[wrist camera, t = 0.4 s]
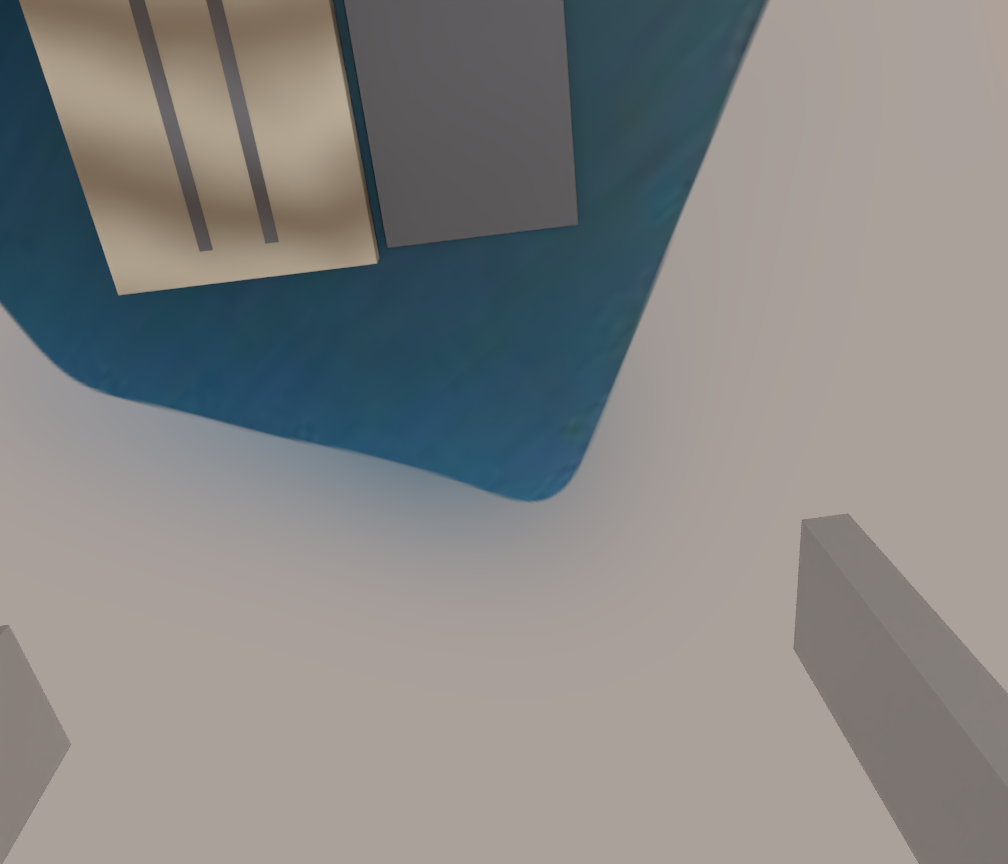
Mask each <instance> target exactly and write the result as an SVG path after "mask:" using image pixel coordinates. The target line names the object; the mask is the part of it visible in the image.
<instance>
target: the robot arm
mask: <svg viewBox="0 0 1008 864" xmlns="http://www.w3.org/2000/svg"><path fill="white" fill-rule="evenodd" d="M794 650H795V652H796V653H797V655H798V657H799V659H800V660H801V662H802V664H803V666H804V667H805V669H806V671H807V673H808V674H809V676H810V678H811V679H812V681H813V683H814V685H815V686H816V688H817V689H818V691H819V693H820V695H821V697H822V698H823V700H824V702H825V703H826V705H827V707H828V709H829V710H830V712H831V713H832V715H833V717H834V719H835V720H836V722H837V724H838V726H839V727H840V729H841V731H842V733H843V734H844V736H845V738H846V739H847V741H848V743H849V744H850V746H851V748H852V750H853V751H854V753H855V755H856V757H857V758H858V760H859V762H860V763H861V765H862V767H863V769H864V770H865V772H866V774H867V775H868V777H869V779H870V780H871V782H872V784H873V786H874V787H875V789H876V791H877V793H878V794H879V796H880V798H881V799H882V801H883V803H884V805H885V806H886V808H887V810H888V811H889V813H890V815H891V817H892V818H893V820H894V821H895V823H896V825H897V827H898V829H899V830H900V832H901V834H902V835H903V837H904V839H905V840H906V842H907V844H908V846H909V847H910V849H911V851H912V852H913V854H914V856H915V858H916V859H917V861H918V863H919V864H1008V693H1007V692H1006V691H1005V690H1004V689H1003V688H1002V687H1001V685H999V683H998V682H997V681H996V680H995V679H994V678H993V676H992V675H991V674H990V673H989V672H988V671H987V670H986V668H985V667H984V666H982V664H981V663H980V662H979V661H978V659H977V658H976V657H975V656H974V655H973V654H972V653H971V652H970V650H969V649H968V648H967V647H966V646H965V645H964V644H963V643H962V642H961V640H960V639H959V638H958V637H957V636H956V635H955V634H954V633H953V631H952V630H951V629H950V628H949V627H948V626H947V625H946V624H945V622H944V621H943V620H942V619H941V618H940V617H939V616H938V614H937V613H936V612H935V611H934V610H933V609H932V608H931V607H930V605H929V604H928V603H927V602H926V601H925V600H924V599H923V597H922V596H921V595H920V594H919V593H918V592H917V591H916V590H915V589H914V587H913V586H912V585H911V584H910V583H909V582H908V581H907V580H906V578H905V577H904V576H903V575H902V574H901V573H900V572H899V570H898V569H897V568H896V567H895V566H894V565H893V564H892V562H891V561H890V560H889V559H888V558H887V557H886V556H885V555H884V553H882V551H881V550H880V549H879V548H878V547H877V546H876V544H875V543H874V542H873V541H872V540H871V539H870V538H869V537H868V536H867V534H866V533H865V532H864V531H863V530H862V529H861V528H860V526H859V525H858V524H857V523H856V522H855V521H854V520H853V519H852V517H851V516H850V515H849V514H842V515H835V516H827V517H819V518H812V519H804V520H802V525H801V541H800V557H799V572H798V588H797V604H796V619H795V634H794ZM70 745H71V743H70V741H69V739H68V737H67V735H66V734H65V731H64V730H63V728H62V726H61V724H60V722H59V720H58V718H57V716H56V714H55V712H54V711H53V708H52V706H51V705H50V703H49V701H48V699H47V697H46V695H45V693H44V691H43V689H42V687H41V685H40V684H39V682H38V680H37V678H36V676H35V674H34V672H33V670H32V668H31V666H30V664H29V662H28V661H27V659H26V657H25V655H24V653H23V651H22V649H21V647H20V645H19V643H18V642H17V640H16V638H15V636H14V634H13V632H12V630H11V628H10V626H9V625H5V626H0V864H2V863H3V862H4V860H5V858H6V857H7V855H8V853H9V851H10V850H11V848H12V846H13V844H14V843H15V841H16V839H17V837H18V835H19V834H20V832H21V831H22V829H23V827H24V825H25V824H26V822H27V820H28V818H29V817H30V815H31V813H32V811H33V810H34V808H35V806H36V804H37V803H38V801H39V799H40V797H41V796H42V794H43V792H44V791H45V789H46V787H47V785H48V784H49V782H50V780H51V778H52V777H53V775H54V773H55V772H56V770H57V768H58V766H59V765H60V763H61V761H62V759H63V758H64V756H65V754H66V752H67V751H68V749H69V747H70Z"/></svg>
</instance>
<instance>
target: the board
mask: <svg viewBox="0 0 1008 864" xmlns="http://www.w3.org/2000/svg"><path fill="white" fill-rule="evenodd" d="M19 1H20V4H21V7H22V10H23V13H24V16H25V19H26V22H27V25H28V28H29V31H30V34H31V37H32V40H33V43H34V46H35V49H36V52H37V55H38V58H39V61H40V64H41V67H42V70H43V73H44V76H45V79H46V82H47V85H48V88H49V91H50V93H51V96H52V99H53V102H54V105H55V108H56V111H57V114H58V117H59V120H60V123H61V126H62V129H63V132H64V135H65V138H66V141H67V144H68V147H69V150H70V153H71V156H72V159H73V162H74V165H75V168H76V171H77V174H78V177H79V180H80V183H81V186H82V189H83V191H84V194H85V197H86V200H87V203H88V206H89V209H90V212H91V215H92V218H93V221H94V224H95V227H96V230H97V233H98V236H99V239H100V242H101V245H102V248H103V251H104V254H105V257H106V260H107V263H108V266H109V269H110V272H111V275H112V278H113V281H114V284H115V287H116V290H117V292H118V295H125V294H133V293H141V292H149V291H157V290H166V289H174V288H182V287H190V286H198V285H206V284H215V283H223V282H231V281H239V280H247V279H255V278H263V277H272V276H280V275H288V274H296V273H304V272H312V271H321V270H329V269H337V268H345V267H353V266H361V265H369V264H377V263H378V260H379V252H378V247H377V241H376V236H375V230H374V224H373V219H372V213H371V208H370V202H369V197H368V191H367V186H366V180H365V175H364V169H363V164H362V158H361V153H360V147H359V142H358V136H357V130H356V125H355V119H354V114H353V108H352V103H351V97H350V92H349V86H348V81H347V75H346V70H345V64H344V59H343V53H342V47H341V42H340V36H339V31H338V25H337V20H336V14H335V9H334V3H333V0H19Z"/></svg>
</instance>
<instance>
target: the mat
mask: <svg viewBox="0 0 1008 864" xmlns="http://www.w3.org/2000/svg"><path fill="white" fill-rule="evenodd" d="M344 3H345V9H346V14H347V20H348V26H349V31H350V37H351V43H352V49H353V54H354V60H355V66H356V71H357V77H358V83H359V89H360V94H361V100H362V106H363V111H364V117H365V123H366V128H367V134H368V140H369V146H370V151H371V157H372V163H373V168H374V174H375V180H376V186H377V191H378V197H379V203H380V208H381V214H382V220H383V225H384V231H385V237H386V243H387V248H391V247H399V246H407V245H415V244H424V243H432V242H440V241H448V240H456V239H464V238H472V237H481V236H489V235H497V234H505V233H513V232H521V231H530V230H538V229H546V228H554V227H562V226H570V225H578V214H577V199H576V183H575V168H574V153H573V138H572V123H571V108H570V93H569V78H568V63H567V48H566V33H565V18H564V3H563V0H344Z"/></svg>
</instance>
